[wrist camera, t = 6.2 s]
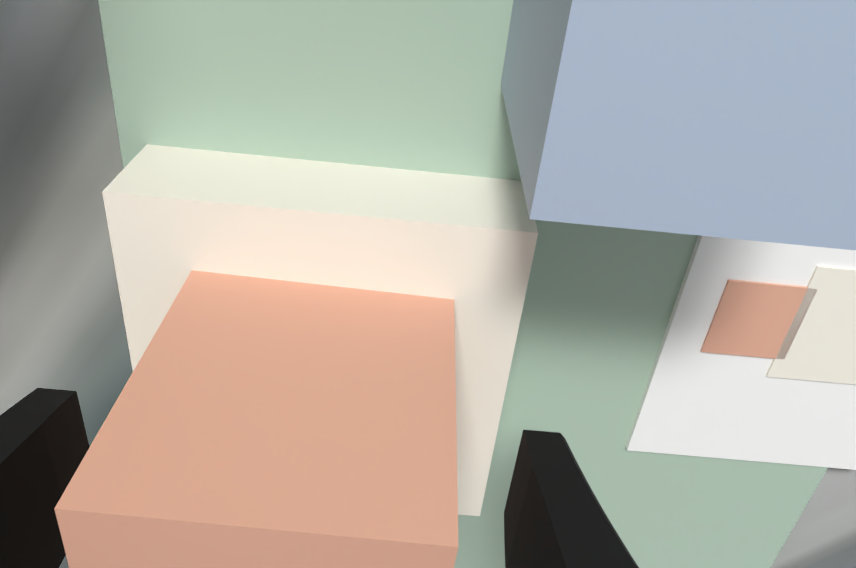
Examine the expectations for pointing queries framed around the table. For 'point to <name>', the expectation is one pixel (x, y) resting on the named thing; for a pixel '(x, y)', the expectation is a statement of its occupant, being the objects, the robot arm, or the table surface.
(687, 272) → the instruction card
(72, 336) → the table surface
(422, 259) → the cream base brick
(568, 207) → the slate-blue brick
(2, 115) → the table surface
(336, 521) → the terracotta brick
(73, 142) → the table surface
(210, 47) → the build plate
